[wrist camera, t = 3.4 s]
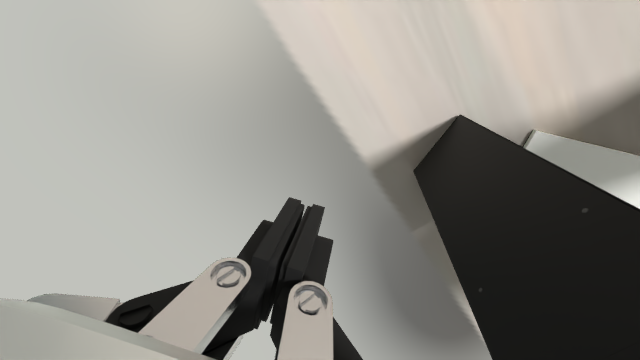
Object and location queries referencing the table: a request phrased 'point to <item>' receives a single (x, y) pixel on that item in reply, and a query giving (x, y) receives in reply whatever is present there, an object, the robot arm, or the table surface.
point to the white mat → (591, 163)
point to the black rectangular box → (535, 249)
